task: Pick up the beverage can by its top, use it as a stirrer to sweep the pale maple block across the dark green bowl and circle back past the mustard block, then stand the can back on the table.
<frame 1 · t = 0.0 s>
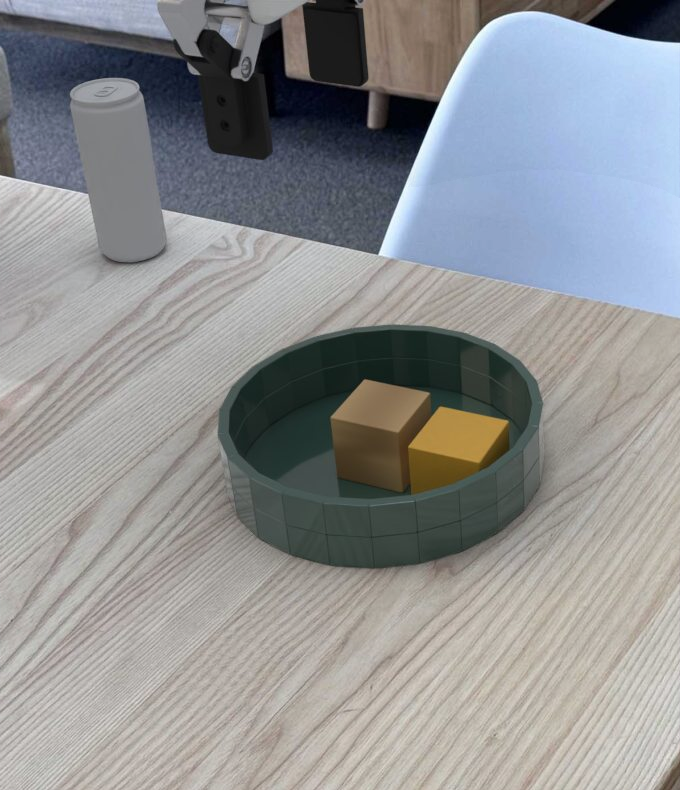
hand: (293, 116, 69), 20 cm above the table, tool pointing down, fingers open, 9 cm apart
mustard block: (462, 494, 74), point 1 cm above the table, touching bowl
bowl: (386, 473, 77), on the table
maple block: (386, 465, 77), point 1 cm above the table, touching bowl
beverage can: (135, 252, 101), on the table
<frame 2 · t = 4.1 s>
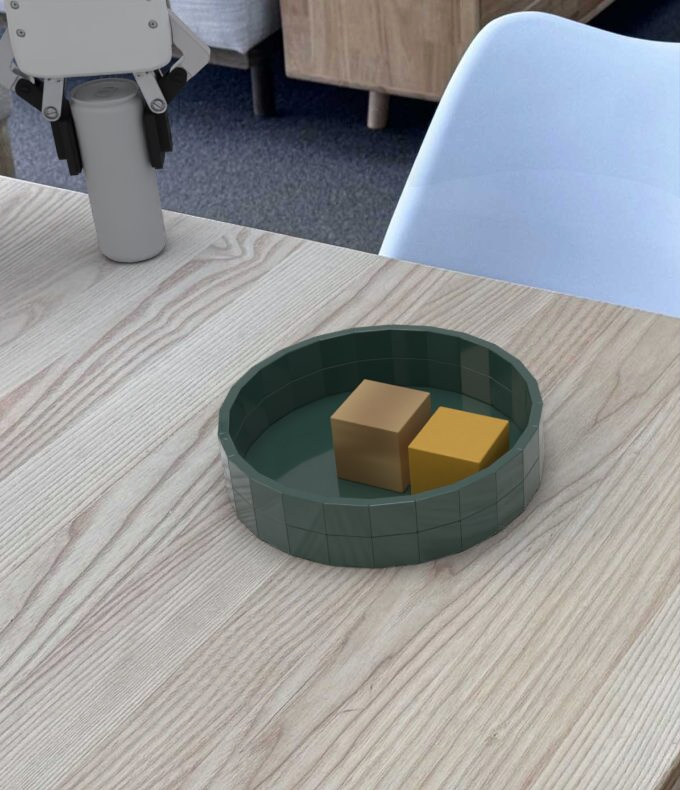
hand: (118, 161, 97), 7 cm above the table, tool pointing down, fingers closed on beverage can, 4 cm apart
beverage can: (135, 252, 101), on the table, touching gripper
everything else where it was.
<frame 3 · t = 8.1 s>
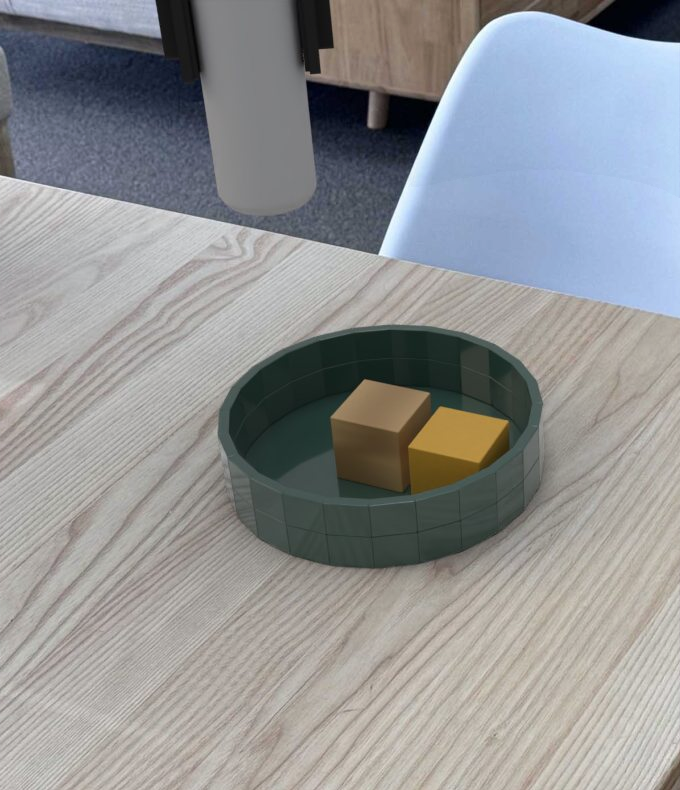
hand: (252, 64, 64), 23 cm above the table, tool pointing down, fingers closed on beverage can, 4 cm apart
beverage can: (270, 201, 68), point 17 cm above the table, touching gripper
everything else where it was.
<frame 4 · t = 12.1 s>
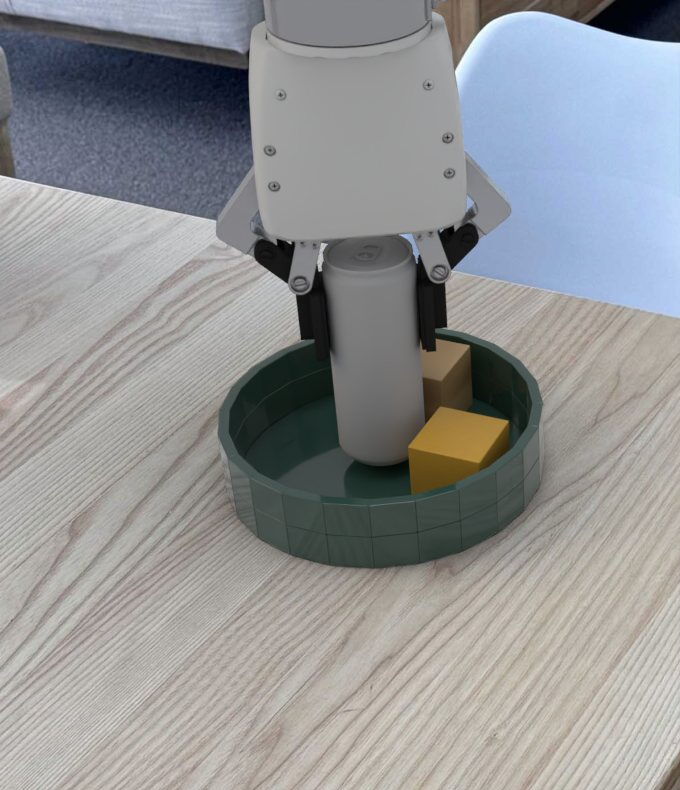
hand: (374, 340, 73), 8 cm above the table, tool pointing down, fingers closed on beverage can, 4 cm apart
maple block: (427, 414, 81), point 1 cm above the table, touching bowl
beverage can: (383, 447, 77), point 1 cm above the table, touching gripper
everything else where it was.
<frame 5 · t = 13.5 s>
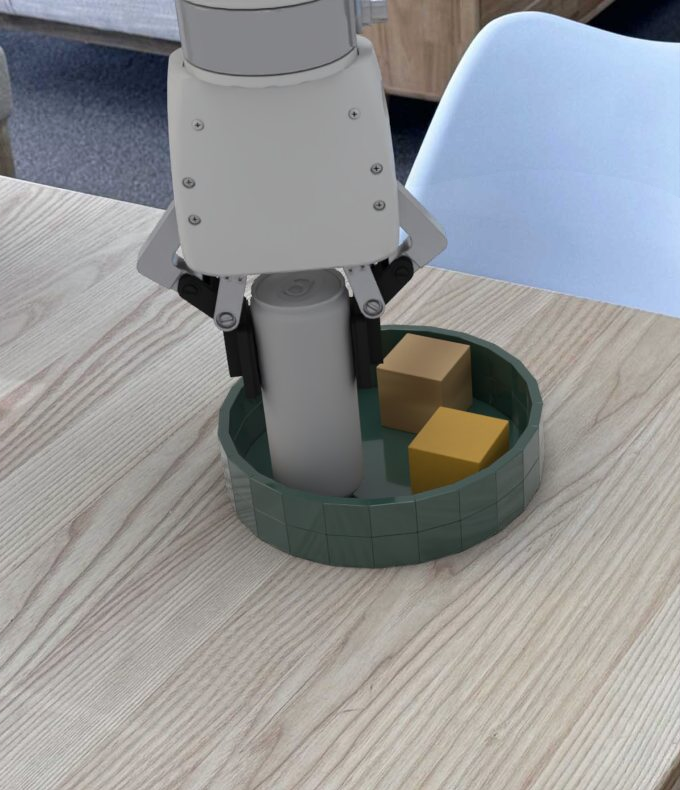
hand: (308, 376, 70), 8 cm above the table, tool pointing down, fingers closed on beverage can, 4 cm apart
beverage can: (321, 486, 74), point 1 cm above the table, touching gripper
everything else where it was.
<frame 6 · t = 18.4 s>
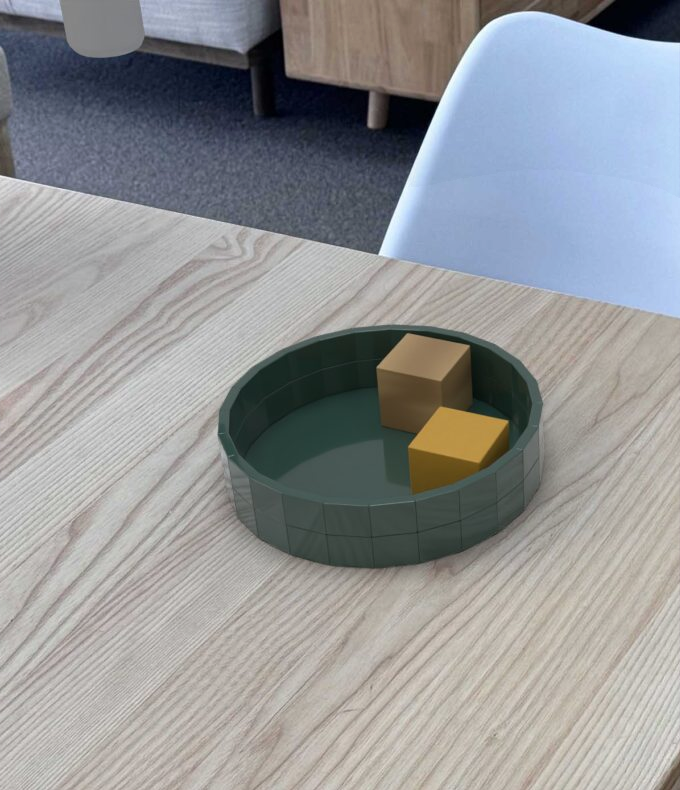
beverage can: (109, 50, 88), point 16 cm above the table, touching gripper
everything else where it was.
when the fingers open (7 cm above the table, at t = 22.8 s): beverage can stays where it is, on the table.
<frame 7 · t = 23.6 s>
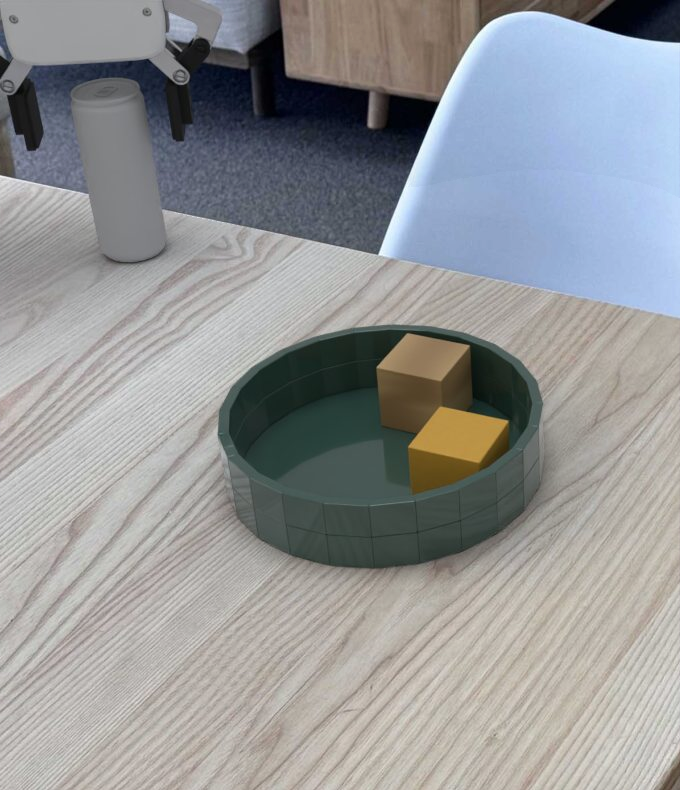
hand: (108, 138, 96), 9 cm above the table, tool pointing down, fingers open, 9 cm apart
beverage can: (135, 251, 101), on the table
everything else where it was.
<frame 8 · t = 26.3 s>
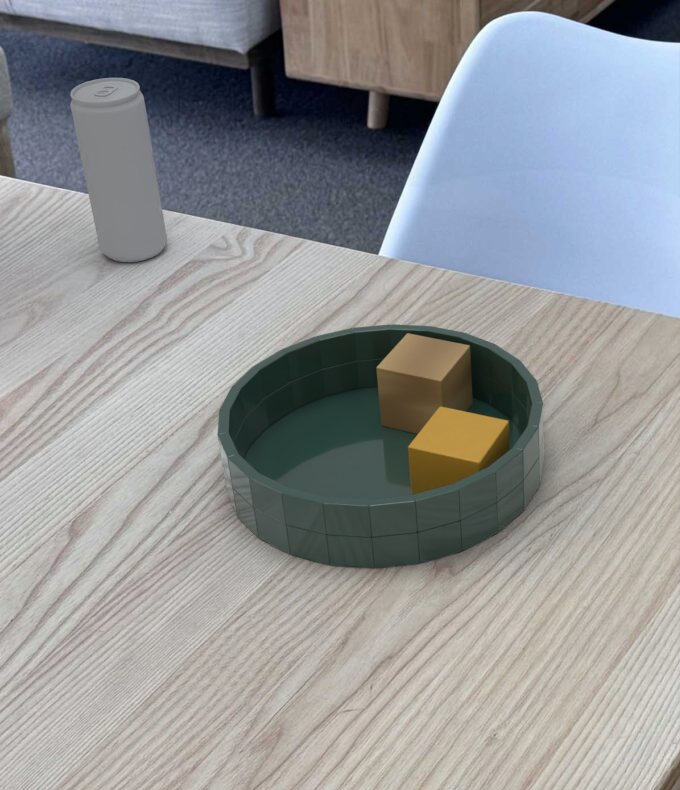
nothing on the table moved.
at the end: maple block moved 5.3 cm from its start; maple block inside the target area in the bowl (5.3 cm from its centre), point 0.6 cm above the bowl's base; beverage can tilted 0° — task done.
